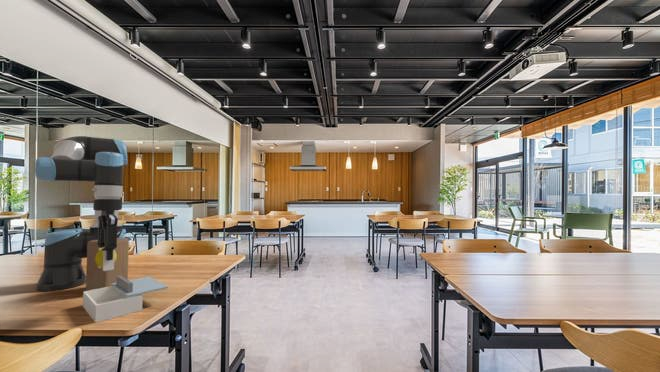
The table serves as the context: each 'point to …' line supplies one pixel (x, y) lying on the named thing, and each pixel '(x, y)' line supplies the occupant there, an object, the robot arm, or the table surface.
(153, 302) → the table surface
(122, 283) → the lid
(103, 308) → the box
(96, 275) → the wooden block
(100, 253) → the fruit
